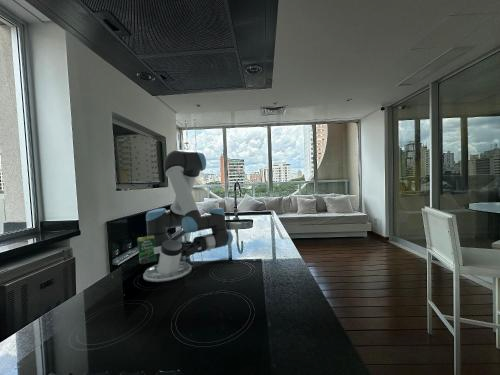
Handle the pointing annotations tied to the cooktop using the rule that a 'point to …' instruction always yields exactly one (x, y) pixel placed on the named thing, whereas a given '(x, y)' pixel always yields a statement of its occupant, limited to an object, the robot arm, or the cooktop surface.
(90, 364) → the cooktop surface
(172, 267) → the jar
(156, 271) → the rosette plate
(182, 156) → the robot arm
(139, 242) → the coffee box
